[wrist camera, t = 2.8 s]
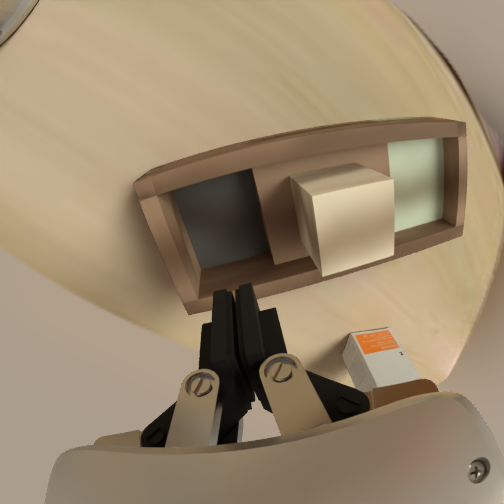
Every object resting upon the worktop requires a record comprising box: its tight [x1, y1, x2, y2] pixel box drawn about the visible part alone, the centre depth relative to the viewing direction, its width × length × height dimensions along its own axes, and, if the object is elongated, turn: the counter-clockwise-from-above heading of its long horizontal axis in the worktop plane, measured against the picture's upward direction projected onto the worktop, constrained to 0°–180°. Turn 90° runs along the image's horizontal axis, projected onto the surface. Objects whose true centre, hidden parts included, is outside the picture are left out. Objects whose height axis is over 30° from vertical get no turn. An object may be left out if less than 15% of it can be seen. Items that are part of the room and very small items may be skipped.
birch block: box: [289, 162, 395, 277], centre depth 17 cm, size 5×5×5 cm
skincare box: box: [342, 328, 422, 392], centre depth 25 cm, size 6×4×12 cm
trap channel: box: [133, 117, 467, 315], centre depth 19 cm, size 10×25×4 cm, turn 103°
